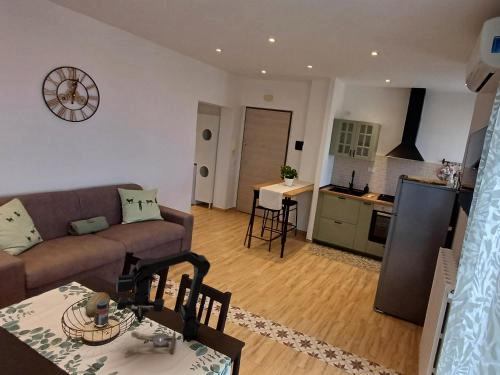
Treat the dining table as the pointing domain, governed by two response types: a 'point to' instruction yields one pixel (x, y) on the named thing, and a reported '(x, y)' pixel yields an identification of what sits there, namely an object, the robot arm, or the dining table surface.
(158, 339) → the stud
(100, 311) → the supplement bottle
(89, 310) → the bread roll
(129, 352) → the channel
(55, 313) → the dining table surface
